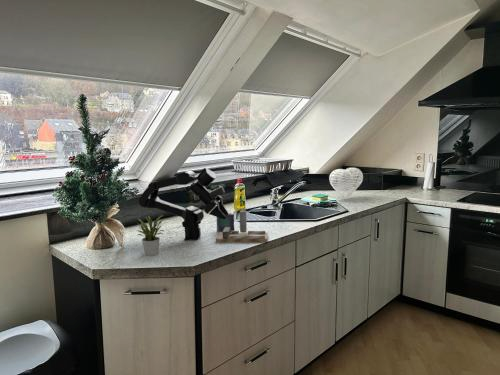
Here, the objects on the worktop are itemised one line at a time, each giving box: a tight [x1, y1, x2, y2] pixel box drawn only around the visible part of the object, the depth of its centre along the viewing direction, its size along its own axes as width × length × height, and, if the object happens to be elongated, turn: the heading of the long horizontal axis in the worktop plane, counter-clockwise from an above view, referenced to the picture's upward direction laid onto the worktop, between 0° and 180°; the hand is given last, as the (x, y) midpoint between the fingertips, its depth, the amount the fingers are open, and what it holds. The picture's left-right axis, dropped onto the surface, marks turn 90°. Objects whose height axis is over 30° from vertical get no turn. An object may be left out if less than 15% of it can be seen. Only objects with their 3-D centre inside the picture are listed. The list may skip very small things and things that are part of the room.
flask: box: [215, 212, 235, 233], centre depth 191 cm, size 9×3×11 cm, turn 72°
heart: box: [328, 167, 364, 200], centre depth 272 cm, size 28×16×22 cm, turn 129°
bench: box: [215, 227, 269, 243], centre depth 177 cm, size 23×11×4 cm, turn 86°
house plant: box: [136, 214, 166, 256], centre depth 158 cm, size 14×14×16 cm
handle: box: [238, 210, 249, 235], centre depth 176 cm, size 4×7×11 cm, turn 176°
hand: (226, 216), depth 177 cm, fingers open, 9 cm apart
